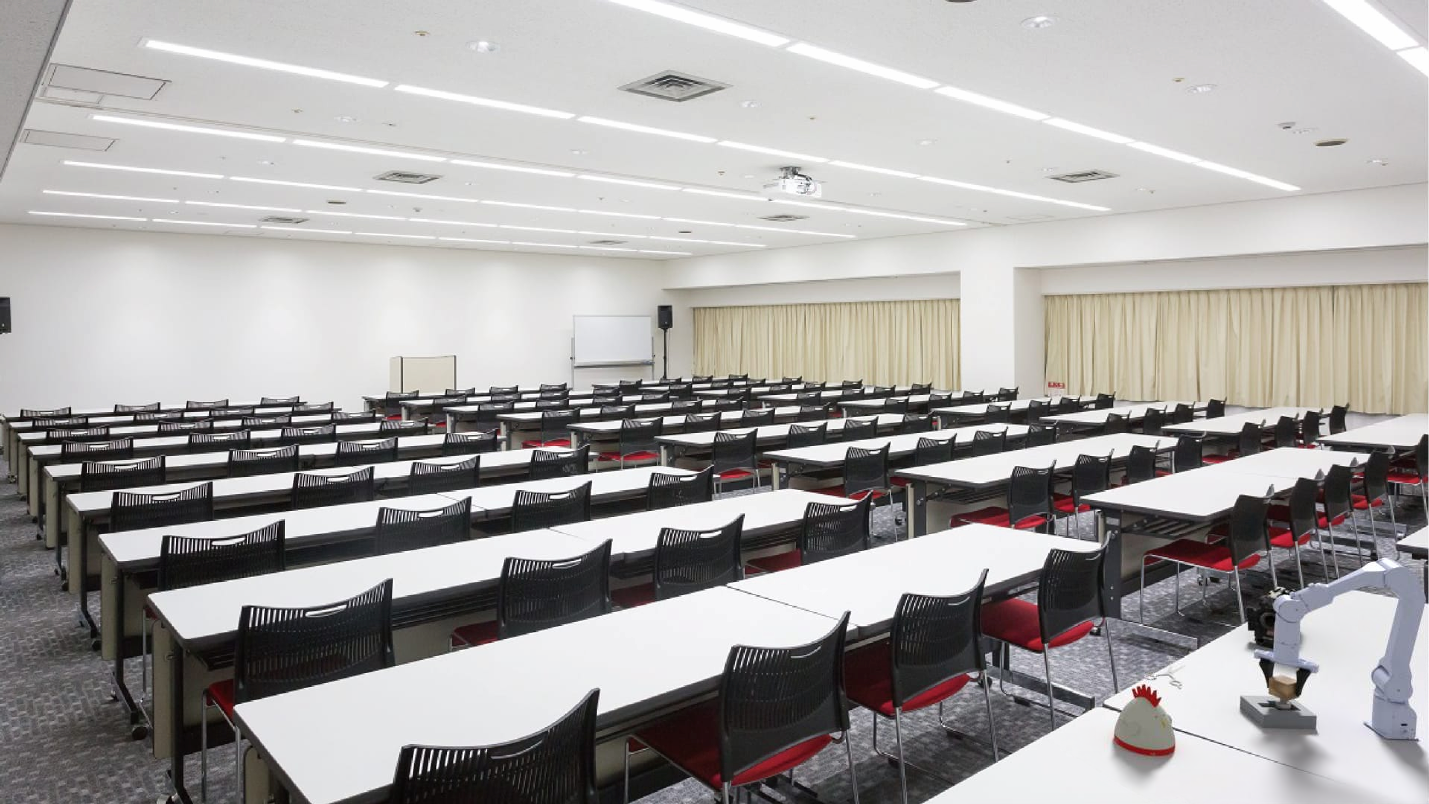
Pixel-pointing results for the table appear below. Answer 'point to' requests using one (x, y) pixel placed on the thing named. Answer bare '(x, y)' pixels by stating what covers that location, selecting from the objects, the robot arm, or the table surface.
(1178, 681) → the scissors
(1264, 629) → the movie camera
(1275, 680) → the peg
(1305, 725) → the square hole plate
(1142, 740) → the kitchen timer
